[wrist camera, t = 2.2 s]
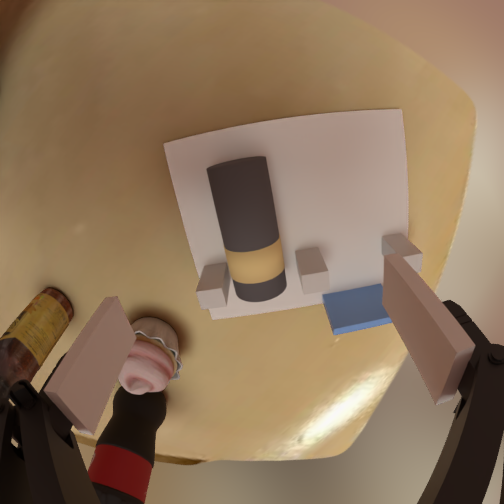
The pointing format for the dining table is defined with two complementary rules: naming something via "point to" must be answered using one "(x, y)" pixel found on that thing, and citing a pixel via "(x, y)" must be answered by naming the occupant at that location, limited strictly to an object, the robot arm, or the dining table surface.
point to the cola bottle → (127, 448)
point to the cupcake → (151, 357)
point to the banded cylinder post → (249, 227)
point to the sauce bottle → (32, 338)
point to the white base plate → (307, 210)
